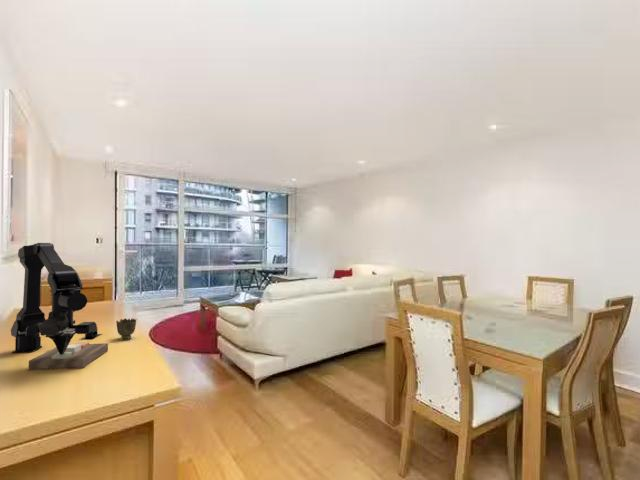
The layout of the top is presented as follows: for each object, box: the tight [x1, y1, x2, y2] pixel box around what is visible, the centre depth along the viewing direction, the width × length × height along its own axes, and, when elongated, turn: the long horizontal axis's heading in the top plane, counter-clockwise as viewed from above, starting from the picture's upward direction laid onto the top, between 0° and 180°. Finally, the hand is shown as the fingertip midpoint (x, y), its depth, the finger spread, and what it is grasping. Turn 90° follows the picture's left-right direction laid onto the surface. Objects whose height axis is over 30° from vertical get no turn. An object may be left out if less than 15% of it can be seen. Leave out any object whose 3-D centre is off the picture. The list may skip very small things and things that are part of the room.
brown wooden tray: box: [28, 342, 109, 371], centre depth 117 cm, size 16×17×3 cm
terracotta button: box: [75, 341, 90, 348], centre depth 123 cm, size 4×4×3 cm
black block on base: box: [79, 328, 103, 341], centre depth 146 cm, size 12×7×5 cm, turn 7°
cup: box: [115, 318, 137, 341], centre depth 143 cm, size 8×7×8 cm
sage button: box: [51, 352, 72, 359], centre depth 112 cm, size 4×4×3 cm
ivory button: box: [65, 343, 81, 353], centre depth 117 cm, size 4×4×3 cm
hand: (61, 354), depth 112 cm, fingers closed, pressing on sage button
